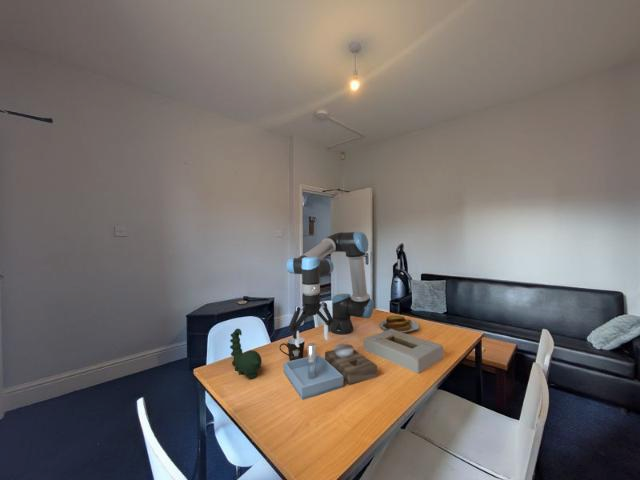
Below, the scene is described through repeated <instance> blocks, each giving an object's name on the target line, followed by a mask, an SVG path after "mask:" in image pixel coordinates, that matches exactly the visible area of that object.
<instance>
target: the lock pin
mask: <svg viewBox="0 0 640 480" xmlns="http://www.w3.org/2000/svg"><path fill="white" fill-rule="evenodd" d="M316 355H317V345H316V343H314V342H309V343H307V357H308V379H315V378H316Z"/></svg>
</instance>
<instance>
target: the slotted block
mask: <svg viewBox="0 0 640 480" xmlns="http://www.w3.org/2000/svg"><path fill="white" fill-rule="evenodd" d="M363 340H364V341H363V344H364V345H363V346H364V347H363V348H364V351H366V352H368V353H371V354H373V355H374V356H377V357H379V358H382V359H384V360H386V361H389V362H390V363H393V364H395V365H398V366H400V367H402V368H404V369H406V370H409V371H411V372H413V373H415V374H420V373H422V372H423V371H425V370H426V369H428V368H430V367H432V366H433V365H435V364H437V363H438V362H440V361H442V360H443V359H444V346H443V345H442V344H440V343H437V342H433V341H431V340H425V339H422V338H419V337H416V336H413V335H410V334H408V333H406V332H405V333H403V332H399V331H397V330H394V329H388V330H385V331H382V332H379V333H376V334H374V335H372V336H368V337H365V338H364V339H363Z"/></svg>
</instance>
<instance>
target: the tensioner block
mask: <svg viewBox="0 0 640 480" xmlns="http://www.w3.org/2000/svg"><path fill="white" fill-rule="evenodd" d="M324 359H325V360H326V361H327V362H328V363H330V364H331V365H332V366H333V367H334V368H335V369H336V370H337V371H338V372H339V373H340V374H342V375H343V381H344V382H345V383H346V384H347V385H349V386H351V385H355V384H358V383H361V382H365V381H368V380H371V379H375V378H377V377H378V365H377V364H376V363H374V362H373V361H371V360H370V359H369V358H367V357H365V356H364V355H362V354H361V353H360V352H359V351H357V350H356V349H354V346H353V345H351V344H348V343H338V344H336V345H335V346H334V348H333V349H332V350H328V351H327V350H326V351H325V352H324Z"/></svg>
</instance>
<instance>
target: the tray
mask: <svg viewBox="0 0 640 480" xmlns="http://www.w3.org/2000/svg"><path fill="white" fill-rule="evenodd" d="M283 374H284V376H285V377H286V378H287V380H288V381H289V383H290V384H291V385H292V387H293V388H294V391H296V393H297V394H298V396H299V397H300V399H301V400H302V401H303V400H306V399H309V398H314V397H317V396H319V395H322V394H326V393H328V392H332V391H335V390H339V389H342V388H344V379H343V375H342V374H340V373H339V372H338V371H337V370H336V369H335V368H334V367H333V366H332V365H331V364H330V363H328V362H327V361H326V360H325V357H323V355H321V354H316V378H315V379H308V356H305V357H303V358H301V359H297V360H292V361H290V360H288V361H284V362H283Z"/></svg>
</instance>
